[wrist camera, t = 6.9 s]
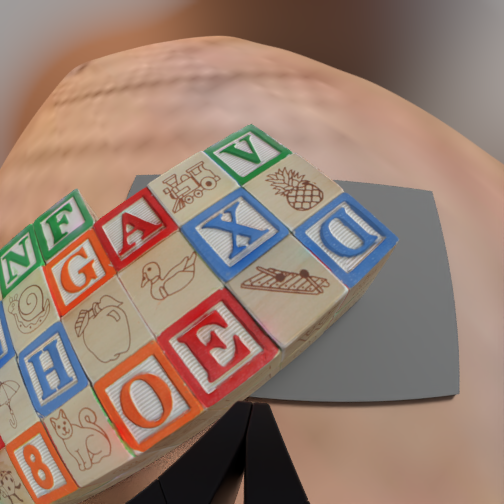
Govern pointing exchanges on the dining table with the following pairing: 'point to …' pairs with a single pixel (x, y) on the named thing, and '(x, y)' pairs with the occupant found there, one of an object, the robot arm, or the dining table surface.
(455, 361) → the mat
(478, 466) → the dining table surface
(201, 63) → the dining table surface
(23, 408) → the stack of blocks
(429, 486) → the dining table surface
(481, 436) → the dining table surface
